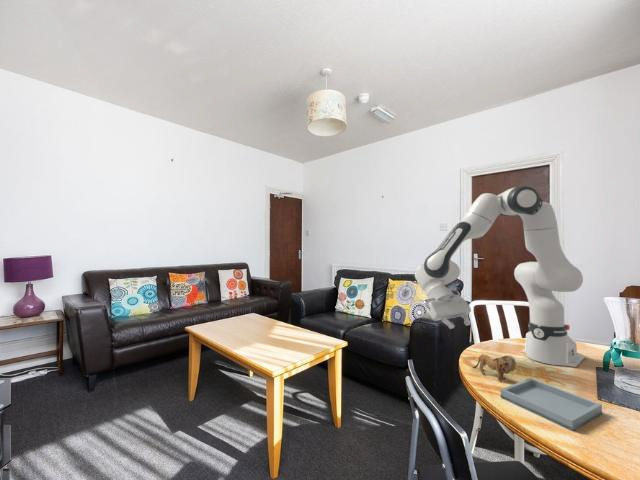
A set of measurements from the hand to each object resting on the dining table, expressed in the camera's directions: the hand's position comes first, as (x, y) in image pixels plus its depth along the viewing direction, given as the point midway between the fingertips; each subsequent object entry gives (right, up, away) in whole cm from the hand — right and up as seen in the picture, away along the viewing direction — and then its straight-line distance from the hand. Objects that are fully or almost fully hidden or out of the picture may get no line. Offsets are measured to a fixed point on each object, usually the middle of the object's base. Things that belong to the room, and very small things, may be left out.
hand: (460, 326), depth 115 cm
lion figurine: (+6, -14, -12) cm, 20 cm away
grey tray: (+11, -14, -31) cm, 35 cm away
